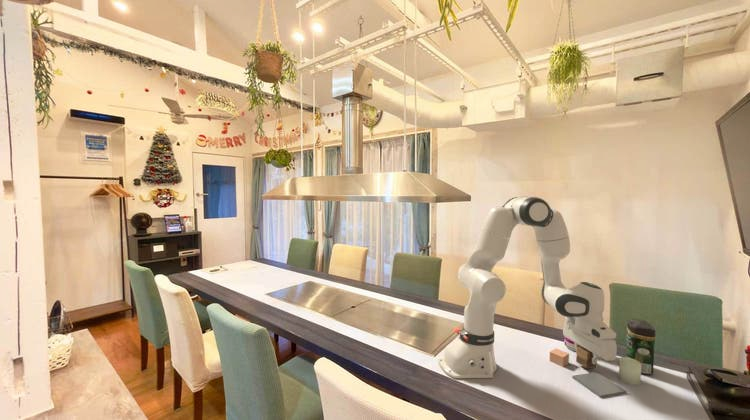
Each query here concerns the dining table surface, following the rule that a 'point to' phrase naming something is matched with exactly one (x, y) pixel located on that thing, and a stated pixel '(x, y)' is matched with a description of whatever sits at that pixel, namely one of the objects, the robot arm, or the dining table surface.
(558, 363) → the terracotta block
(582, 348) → the walnut block
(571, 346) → the supplement can
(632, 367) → the pale green capsule
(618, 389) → the coaster
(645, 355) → the coffee jar
